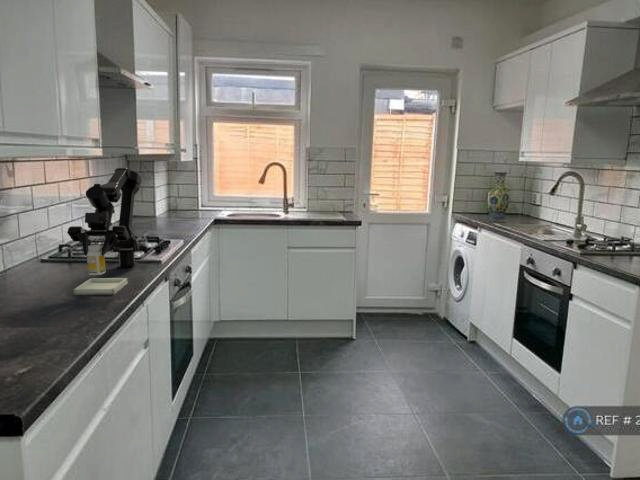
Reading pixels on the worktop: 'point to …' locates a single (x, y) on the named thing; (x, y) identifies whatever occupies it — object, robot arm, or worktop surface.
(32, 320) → the worktop surface
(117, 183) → the robot arm
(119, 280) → the sage tray
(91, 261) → the supplement bottle
